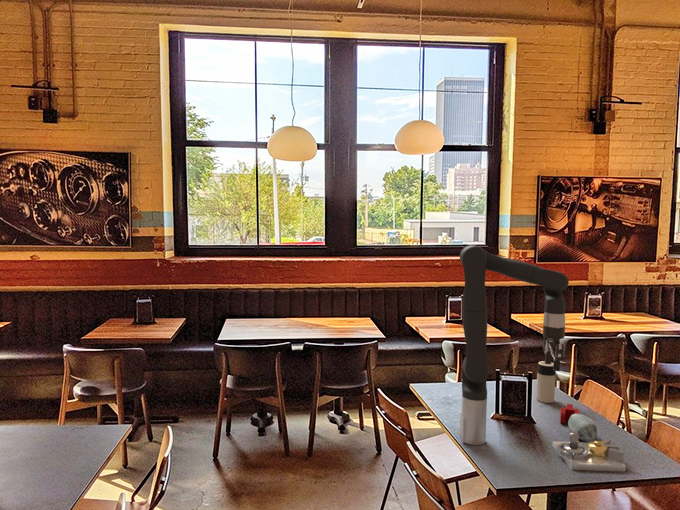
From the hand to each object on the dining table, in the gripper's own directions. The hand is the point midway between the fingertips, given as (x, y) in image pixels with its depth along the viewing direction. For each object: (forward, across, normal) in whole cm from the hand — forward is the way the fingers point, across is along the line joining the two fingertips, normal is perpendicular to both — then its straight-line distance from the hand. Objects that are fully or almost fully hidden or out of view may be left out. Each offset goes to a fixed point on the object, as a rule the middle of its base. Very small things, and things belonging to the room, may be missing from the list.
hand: (552, 367), depth 193 cm
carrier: (+30, +10, +10) cm, 33 cm away
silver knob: (+28, +10, +5) cm, 30 cm away
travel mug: (+30, -50, +16) cm, 61 cm away
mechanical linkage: (+30, -27, +18) cm, 45 cm away
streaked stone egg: (+30, -9, +16) cm, 36 cm away
